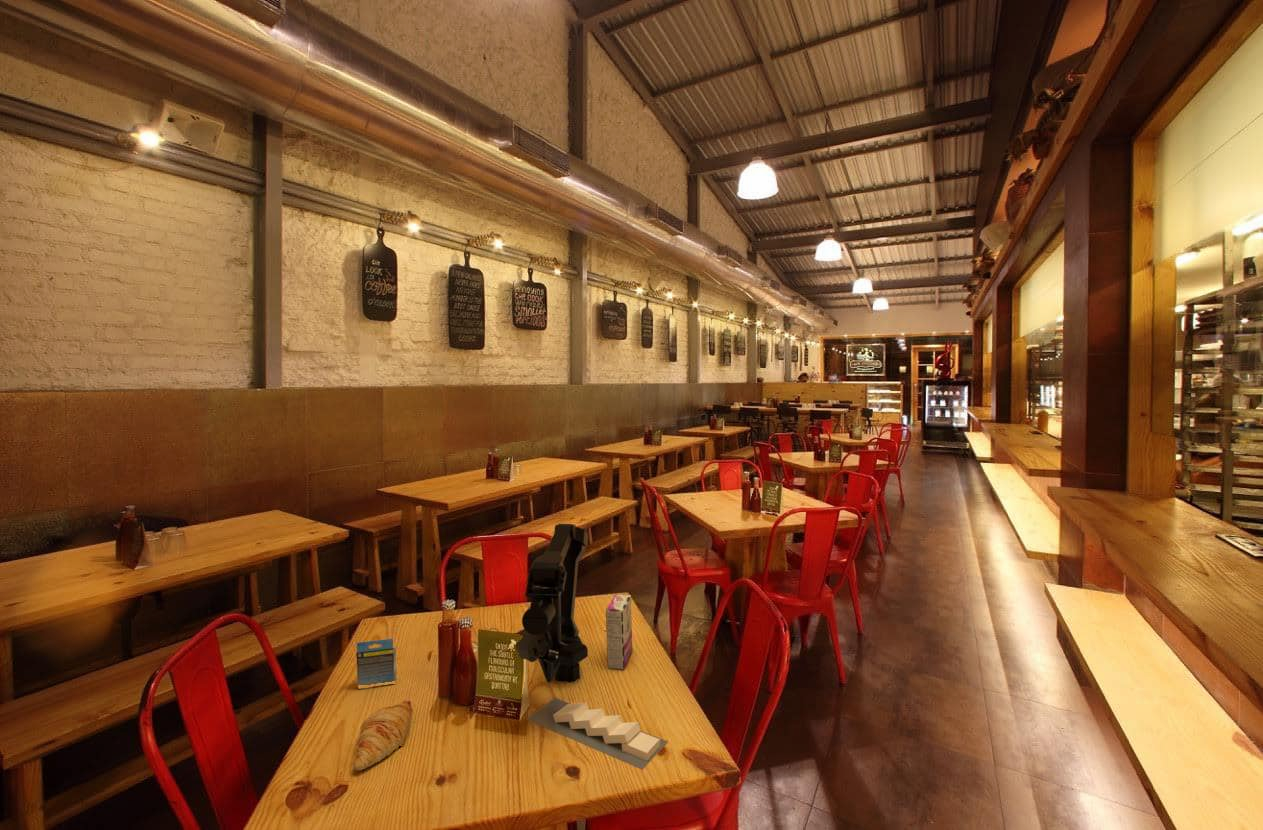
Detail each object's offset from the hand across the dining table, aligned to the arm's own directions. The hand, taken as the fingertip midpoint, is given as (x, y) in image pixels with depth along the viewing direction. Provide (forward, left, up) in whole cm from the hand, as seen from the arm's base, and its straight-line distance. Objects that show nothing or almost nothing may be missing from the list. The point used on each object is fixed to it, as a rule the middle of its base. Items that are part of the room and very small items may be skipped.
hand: (549, 681), depth 126 cm
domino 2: (+9, -1, -6) cm, 10 cm away
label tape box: (-46, -14, -8) cm, 49 cm away
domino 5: (+22, -1, -6) cm, 23 cm away
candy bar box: (0, +29, -8) cm, 30 cm away
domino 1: (+4, -1, -6) cm, 7 cm away
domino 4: (+18, -1, -6) cm, 19 cm away
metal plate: (+14, -1, -7) cm, 15 cm away
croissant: (-23, -27, -8) cm, 36 cm away
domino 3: (+13, -1, -6) cm, 14 cm away
